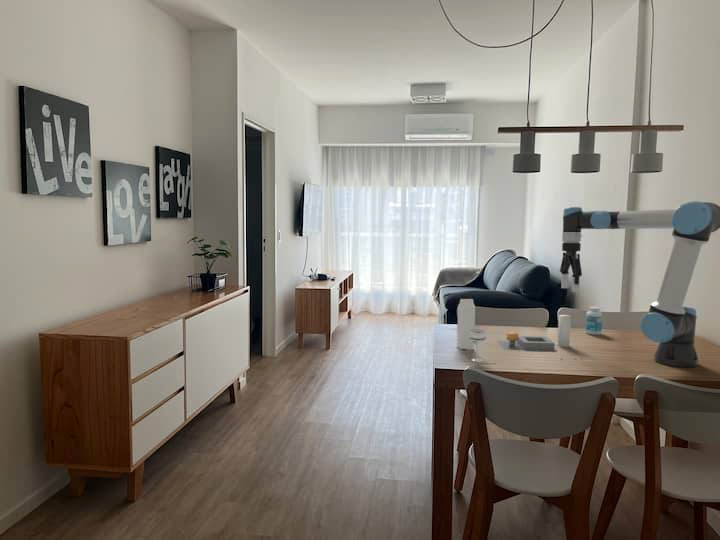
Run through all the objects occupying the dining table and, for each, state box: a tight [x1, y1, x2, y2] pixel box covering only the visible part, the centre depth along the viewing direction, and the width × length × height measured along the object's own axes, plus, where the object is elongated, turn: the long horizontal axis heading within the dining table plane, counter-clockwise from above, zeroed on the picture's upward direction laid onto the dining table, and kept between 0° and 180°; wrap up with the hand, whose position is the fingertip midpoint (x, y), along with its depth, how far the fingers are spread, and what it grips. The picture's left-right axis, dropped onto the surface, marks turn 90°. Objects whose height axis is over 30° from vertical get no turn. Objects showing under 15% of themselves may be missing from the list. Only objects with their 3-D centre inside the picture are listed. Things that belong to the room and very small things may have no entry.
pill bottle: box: [584, 306, 603, 336], centre depth 261 cm, size 8×7×14 cm
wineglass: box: [469, 328, 487, 363], centre depth 209 cm, size 7×7×12 cm
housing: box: [497, 335, 557, 352], centre depth 230 cm, size 16×22×4 cm
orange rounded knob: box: [506, 331, 519, 342], centre depth 230 cm, size 5×5×3 cm
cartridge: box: [557, 314, 572, 348], centre depth 230 cm, size 5×5×14 cm
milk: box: [456, 298, 476, 351], centre depth 228 cm, size 6×6×22 cm
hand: (569, 290), depth 230 cm, fingers open, 13 cm apart
